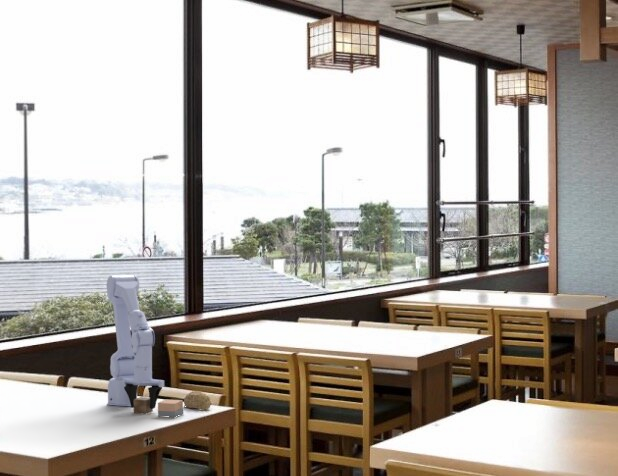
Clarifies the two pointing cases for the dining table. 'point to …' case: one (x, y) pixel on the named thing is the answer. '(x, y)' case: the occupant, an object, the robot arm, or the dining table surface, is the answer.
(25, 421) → the dining table surface
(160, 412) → the slab bottom
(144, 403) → the walnut block
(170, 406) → the slab top
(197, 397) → the stone tool
